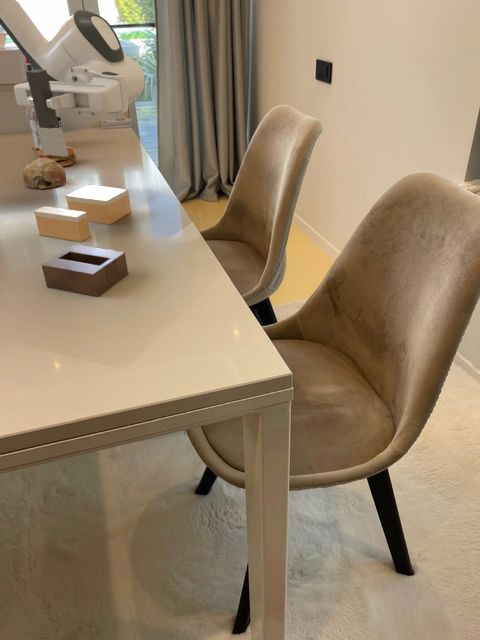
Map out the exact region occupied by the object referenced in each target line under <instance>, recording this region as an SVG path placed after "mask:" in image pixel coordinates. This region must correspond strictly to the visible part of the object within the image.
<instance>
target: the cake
mask: <svg viewBox="0 0 480 640" xmlns="http://www.w3.org/2000/svg"><path fill="white" fill-rule="evenodd" d="M129 194H130V193H129V189H127V188H121V187H120V188H119V187H113V186H112V187H110V186H103V185H96V184H95V185H94V184H87V185H85V186H83V187H81V188H79V189H77V190H74V191H73V192H70V193H68V194H66V195H65V198H66V199H65V200H66V203H67V209H68V210H74V211H81V212H86V214H87V220H88V222H90V223H91V222H92V223H97V224H103V225H113V224H114V223H116V222H117V221H119V220H121V219H123V218H124V217H125V216H127V215H129V214H130V213H132V208H131V202H130V195H129Z"/></svg>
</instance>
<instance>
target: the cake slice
mask: <svg viewBox="0 0 480 640" xmlns="http://www.w3.org/2000/svg"><path fill="white" fill-rule="evenodd" d="M33 211H34V212H33V213H34V218H35V221H36V225H37V230H38V233H39V236H42V237H49V238H55V239H60V240H67V241H73V242H81V243H82V242H84V241H85V240H87V239H89V238H91V230H90V226H89V225H90V224H89V221H88V220H87V214H86V212H81V211H74V210H69V209H68V208H60V207H53V206H45V205H44V206H42V207H39V208H37V209H35V210H33Z"/></svg>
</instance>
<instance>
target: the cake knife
mask: <svg viewBox="0 0 480 640" xmlns="http://www.w3.org/2000/svg"><path fill="white" fill-rule="evenodd" d="M25 74H26V79H27V83H29V87H30V91H31V95H32V99H33V103H34V107H35V108H34V110H35V111H36V116H37V120H38V123H37V128H36V129H37V130H38V132H37V133H38V135H39V136H38V138H39V139H40V143H41V147H42V151H43V154H45V155H54V156H63V157H66V156H68V152H67V147H66V146H67V143H66V139H65V133H64V130H63V129H64V128H63V127H62V126H59V120H58V115H57V111H56V109H55V110H53V109H47V107H46V103H45V99H46V98H49V97H52V93H51V89H50V84H49V80H48V75H47V71H46V70H37V69H35V70H32V69H31V70H27V71H26V72H25ZM38 124H39V125H38ZM55 126H58V127H55Z"/></svg>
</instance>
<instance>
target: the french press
mask: <svg viewBox="0 0 480 640" xmlns="http://www.w3.org/2000/svg"><path fill="white" fill-rule="evenodd" d="M31 70H33V68H32V67H31ZM28 110H30V112H29V113H28ZM28 115H29V116H31V117H29V119H28ZM25 116H26V117H25V119H26V120H27V121H26V123H27V125H28V128H29V129H30V130H31V133H32V137H33V141H34V144H35V146H36V147H40V148H42V147H41V143H40V139H39V135H38V130H37V126H38V125H39V124H38V120H37V116H36V111H35V109H34V108H30V107H26V115H25ZM55 127H59V125H58V126H55Z"/></svg>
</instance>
